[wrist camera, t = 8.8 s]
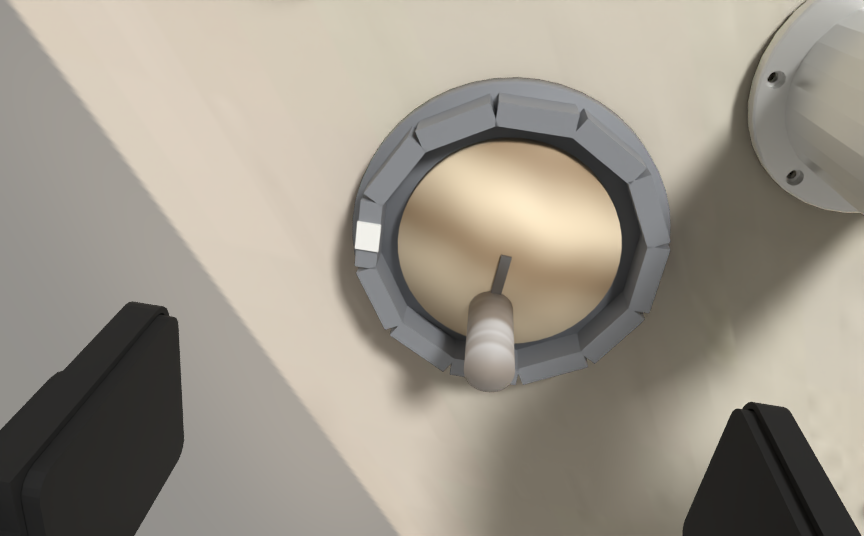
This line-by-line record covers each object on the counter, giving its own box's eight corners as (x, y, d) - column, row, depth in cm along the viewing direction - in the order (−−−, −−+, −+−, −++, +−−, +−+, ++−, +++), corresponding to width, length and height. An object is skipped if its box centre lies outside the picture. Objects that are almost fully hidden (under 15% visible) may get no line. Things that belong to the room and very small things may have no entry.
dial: (422, 114, 36) (406, 157, 30) (650, 166, 37) (681, 218, 30) (383, 310, 42) (363, 379, 36) (580, 353, 42) (594, 429, 36)
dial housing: (707, 105, 36) (727, 125, 33) (618, 377, 45) (628, 414, 42) (371, 53, 37) (358, 67, 33) (346, 333, 45) (334, 366, 42)
